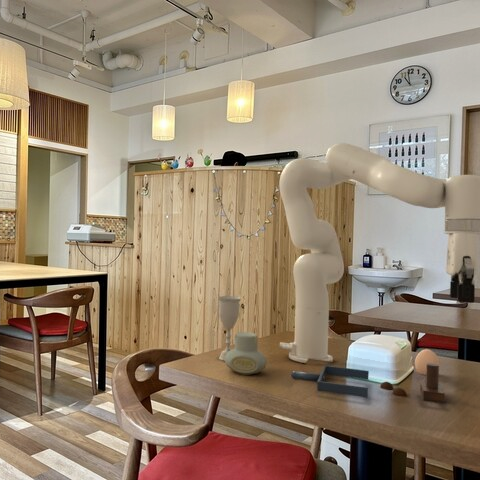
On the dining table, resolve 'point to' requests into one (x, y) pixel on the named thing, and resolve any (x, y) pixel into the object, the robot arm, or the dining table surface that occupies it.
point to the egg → (425, 360)
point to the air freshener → (245, 355)
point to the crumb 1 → (386, 386)
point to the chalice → (228, 317)
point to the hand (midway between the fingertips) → (461, 300)
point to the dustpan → (334, 386)
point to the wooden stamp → (432, 385)
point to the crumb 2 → (399, 392)
